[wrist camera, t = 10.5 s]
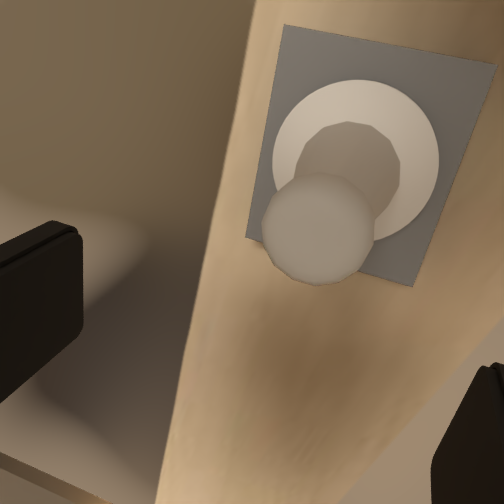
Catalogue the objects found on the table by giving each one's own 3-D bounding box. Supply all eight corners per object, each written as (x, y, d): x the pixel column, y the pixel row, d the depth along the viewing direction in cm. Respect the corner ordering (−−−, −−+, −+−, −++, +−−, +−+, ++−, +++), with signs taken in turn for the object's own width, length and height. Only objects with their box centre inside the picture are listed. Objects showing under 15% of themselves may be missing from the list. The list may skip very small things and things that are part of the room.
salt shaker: (317, 217, 30) (258, 318, 18) (294, 131, 28) (214, 183, 17) (410, 199, 27) (408, 302, 16) (391, 104, 26) (375, 143, 14)
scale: (295, 26, 29) (280, 23, 26) (489, 63, 27) (500, 65, 23) (256, 228, 36) (240, 246, 32) (410, 273, 33) (410, 297, 30)
